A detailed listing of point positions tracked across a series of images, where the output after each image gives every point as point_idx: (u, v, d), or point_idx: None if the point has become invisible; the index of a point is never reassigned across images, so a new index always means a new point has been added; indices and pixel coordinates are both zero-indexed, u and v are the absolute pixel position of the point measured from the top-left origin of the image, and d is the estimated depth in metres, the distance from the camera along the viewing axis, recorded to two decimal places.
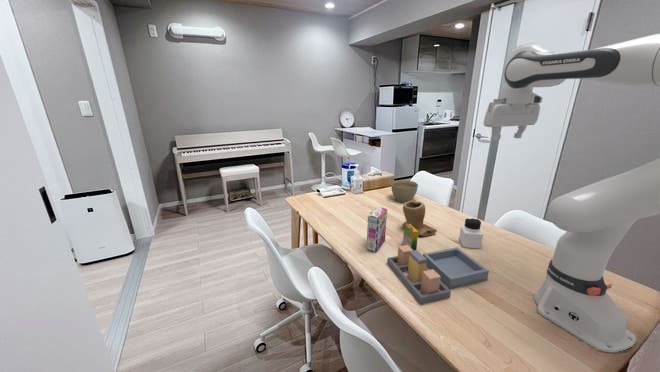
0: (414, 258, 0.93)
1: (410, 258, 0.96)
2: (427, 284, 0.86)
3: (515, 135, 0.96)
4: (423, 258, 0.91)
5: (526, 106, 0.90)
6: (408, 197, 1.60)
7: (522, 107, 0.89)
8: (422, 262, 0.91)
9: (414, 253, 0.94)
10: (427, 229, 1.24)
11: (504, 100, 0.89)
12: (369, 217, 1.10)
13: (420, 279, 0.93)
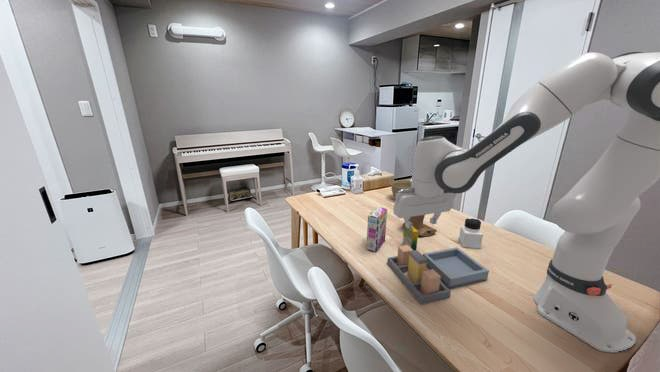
0: (414, 258, 0.93)
1: (410, 258, 0.96)
2: (427, 284, 0.86)
3: (430, 220, 0.90)
4: (423, 258, 0.91)
5: (437, 195, 0.84)
6: None
7: (431, 198, 0.83)
8: (422, 262, 0.91)
9: (414, 253, 0.94)
10: (427, 229, 1.24)
11: (412, 190, 0.83)
12: (369, 217, 1.10)
13: (420, 279, 0.93)
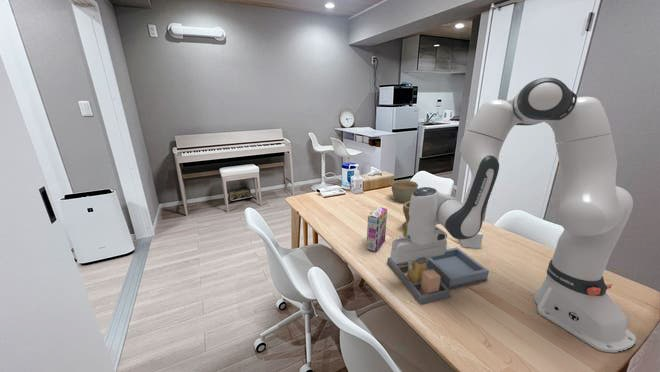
0: None
1: None
2: (427, 284, 0.86)
3: None
4: (423, 258, 0.91)
5: (431, 242, 0.90)
6: (408, 197, 1.60)
7: (425, 245, 0.89)
8: (422, 262, 0.91)
9: None
10: None
11: (408, 238, 0.89)
12: (369, 217, 1.10)
13: (420, 279, 0.93)
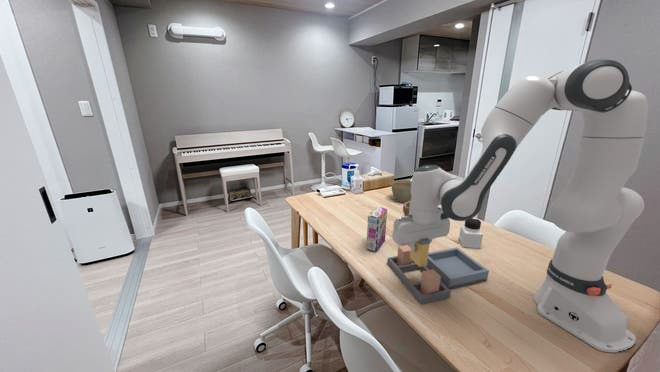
0: None
1: None
2: (427, 284, 0.86)
3: None
4: (426, 239, 0.88)
5: (434, 222, 0.87)
6: (408, 197, 1.60)
7: (428, 225, 0.86)
8: (425, 243, 0.88)
9: None
10: None
11: (410, 217, 0.86)
12: (369, 217, 1.10)
13: (423, 261, 0.90)
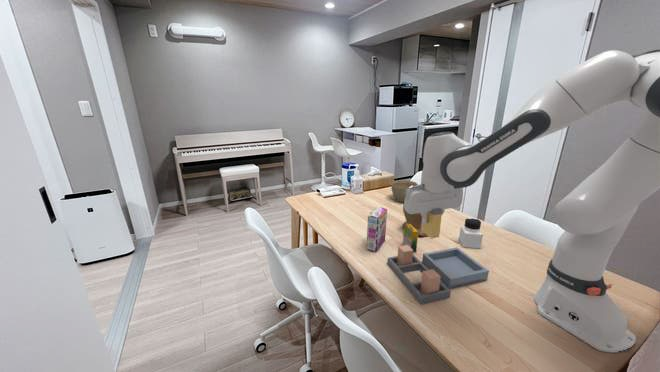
0: None
1: None
2: (427, 284, 0.86)
3: None
4: (438, 209, 0.86)
5: (447, 191, 0.85)
6: None
7: (441, 194, 0.84)
8: (437, 213, 0.86)
9: None
10: None
11: (422, 186, 0.84)
12: (369, 217, 1.10)
13: (435, 232, 0.88)
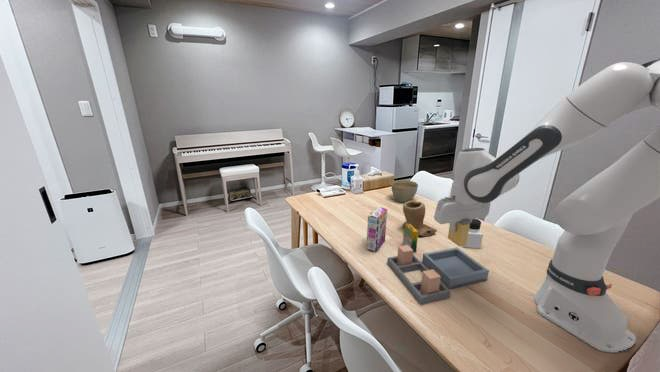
0: None
1: None
2: (427, 284, 0.86)
3: None
4: (467, 219, 0.91)
5: (476, 203, 0.90)
6: (408, 197, 1.60)
7: (471, 205, 0.89)
8: (466, 223, 0.91)
9: None
10: (427, 229, 1.24)
11: (453, 198, 0.89)
12: (369, 217, 1.10)
13: (463, 241, 0.93)
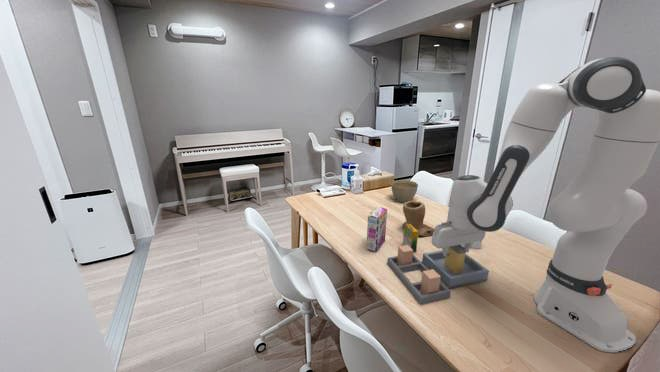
0: (453, 248, 0.97)
1: (448, 248, 0.99)
2: (427, 284, 0.86)
3: None
4: (462, 248, 0.95)
5: None
6: (408, 197, 1.60)
7: (467, 230, 0.92)
8: (461, 252, 0.94)
9: None
10: (427, 229, 1.24)
11: (449, 223, 0.92)
12: (369, 217, 1.10)
13: (459, 268, 0.97)
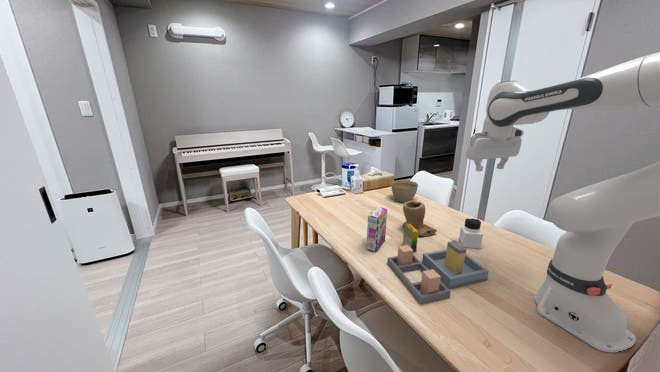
0: (453, 248, 0.97)
1: (448, 248, 0.99)
2: (427, 284, 0.86)
3: (498, 166, 0.97)
4: (462, 248, 0.95)
5: (507, 139, 0.92)
6: (408, 197, 1.60)
7: (503, 141, 0.90)
8: (461, 252, 0.94)
9: (452, 243, 0.98)
10: (427, 229, 1.24)
11: (486, 134, 0.90)
12: (369, 217, 1.10)
13: (459, 268, 0.97)
